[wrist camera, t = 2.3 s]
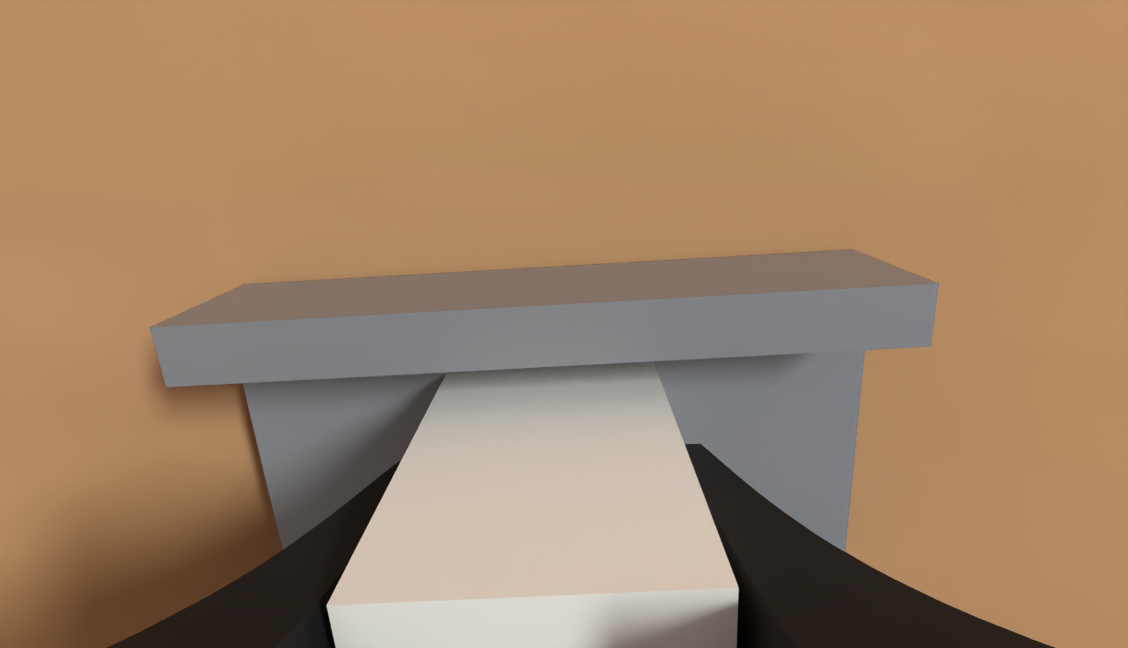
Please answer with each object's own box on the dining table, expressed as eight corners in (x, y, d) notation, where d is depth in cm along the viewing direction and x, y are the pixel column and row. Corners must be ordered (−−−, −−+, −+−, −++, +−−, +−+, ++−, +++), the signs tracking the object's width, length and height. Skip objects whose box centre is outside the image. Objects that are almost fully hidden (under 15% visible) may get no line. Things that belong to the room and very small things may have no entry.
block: (653, 362, 11) (739, 587, 6) (656, 538, 13) (728, 870, 7) (446, 373, 12) (326, 605, 6) (468, 547, 13) (386, 881, 7)
